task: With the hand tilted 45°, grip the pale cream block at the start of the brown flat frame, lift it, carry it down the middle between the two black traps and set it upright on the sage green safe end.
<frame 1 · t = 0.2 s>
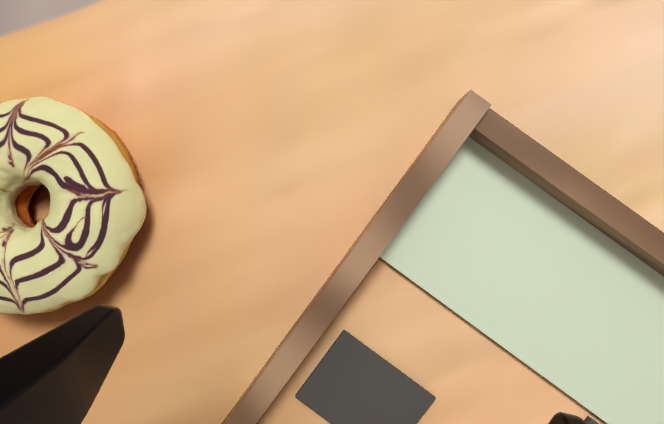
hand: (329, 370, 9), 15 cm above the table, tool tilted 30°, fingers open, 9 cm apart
safe end: (571, 326, 23), resting in brown flat frame
decorated donut: (64, 205, 25), on the table
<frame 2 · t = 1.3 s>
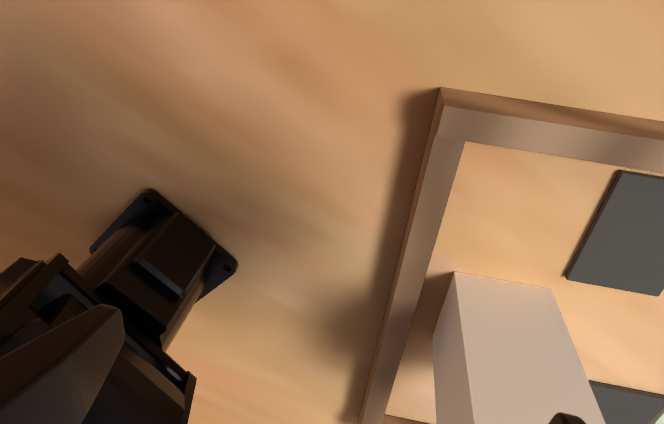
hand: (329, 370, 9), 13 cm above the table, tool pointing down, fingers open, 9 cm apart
pale cream block: (488, 314, 24), resting in brown flat frame
brown flat frame: (628, 341, 24), on the table
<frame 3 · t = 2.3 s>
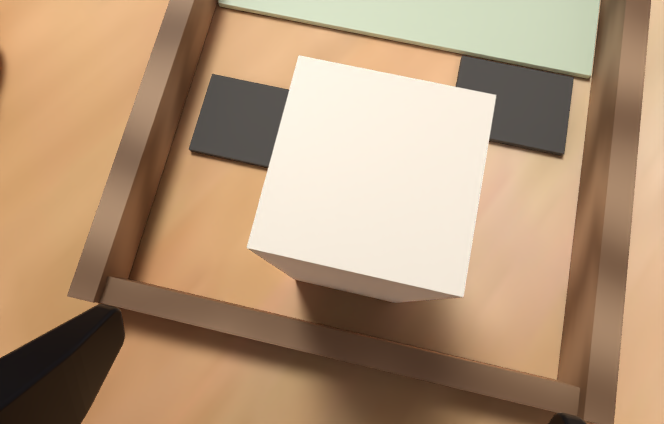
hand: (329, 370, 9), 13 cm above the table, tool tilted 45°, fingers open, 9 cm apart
pale cream block: (355, 242, 22), resting in brown flat frame
brown flat frame: (385, 106, 24), on the table
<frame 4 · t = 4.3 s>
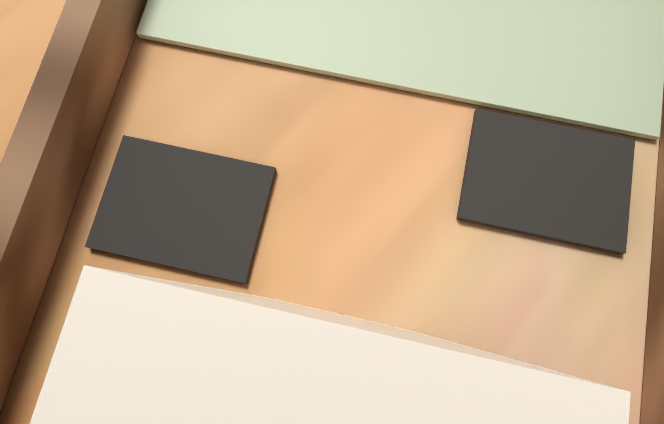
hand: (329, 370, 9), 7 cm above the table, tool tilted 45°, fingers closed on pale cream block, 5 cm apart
pale cream block: (323, 386, 15), resting in brown flat frame, touching gripper
safe end: (402, 21, 18), resting in brown flat frame
brown flat frame: (367, 181, 17), on the table
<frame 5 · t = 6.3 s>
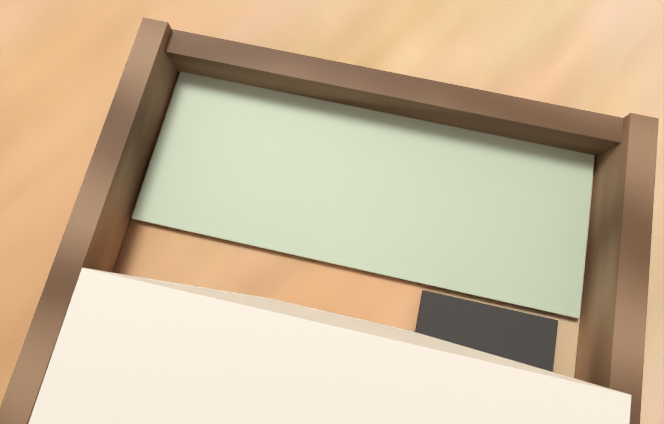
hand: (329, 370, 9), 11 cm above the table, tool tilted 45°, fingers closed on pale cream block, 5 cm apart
pale cream block: (323, 387, 15), point 4 cm above the table, touching gripper
safe end: (361, 205, 21), resting in brown flat frame
brown flat frame: (329, 356, 19), on the table
when the fingers open (8 cm above the table, at t = 8.2 s): pale cream block stays where it is, resting on safe end.
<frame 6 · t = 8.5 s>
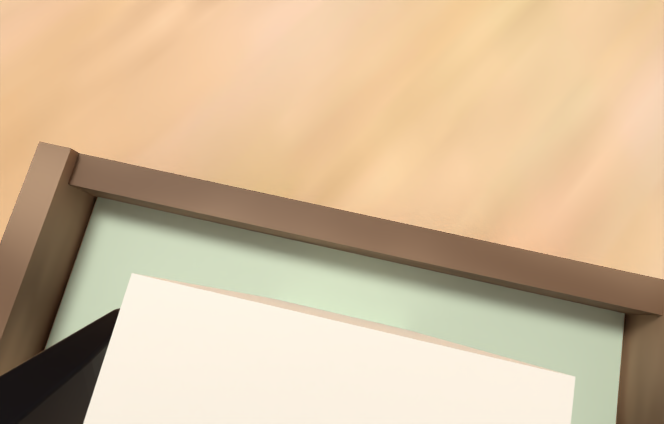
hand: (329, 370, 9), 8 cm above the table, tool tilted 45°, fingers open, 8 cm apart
pale cream block: (324, 382, 16), resting on safe end
safe end: (324, 379, 16), resting in brown flat frame
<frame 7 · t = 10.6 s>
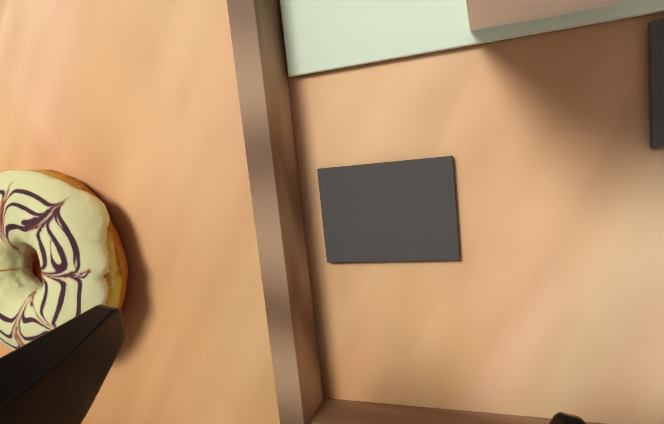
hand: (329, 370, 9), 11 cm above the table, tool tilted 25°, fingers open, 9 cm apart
brown flat frame: (544, 139, 17), on the table
decorated donut: (76, 255, 27), on the table
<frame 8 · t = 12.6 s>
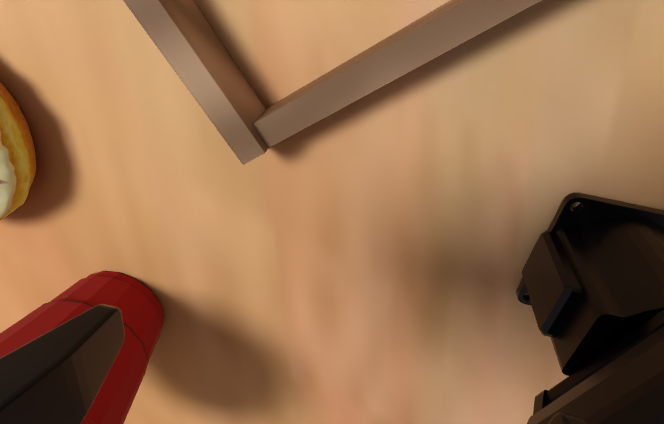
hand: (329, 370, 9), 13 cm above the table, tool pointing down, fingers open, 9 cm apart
plastic cup: (122, 299, 29), on the table
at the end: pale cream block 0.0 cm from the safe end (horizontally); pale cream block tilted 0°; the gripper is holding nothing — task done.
